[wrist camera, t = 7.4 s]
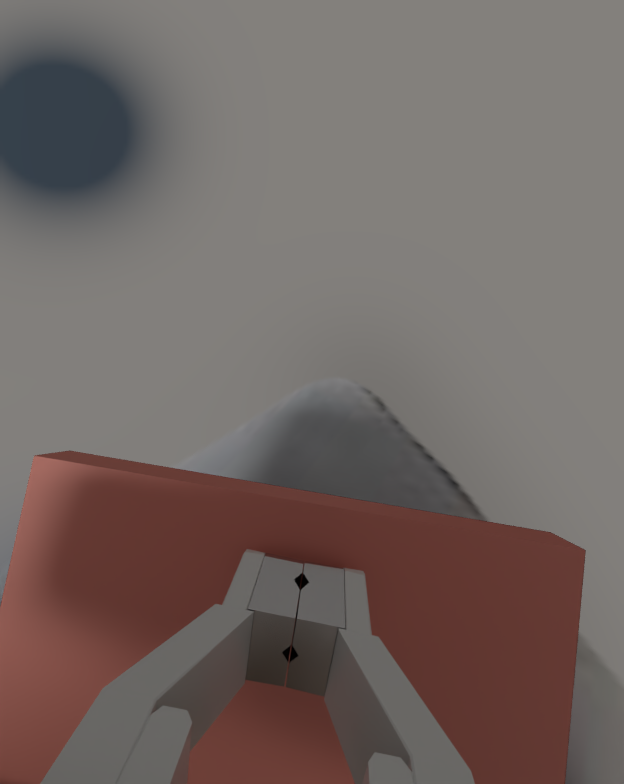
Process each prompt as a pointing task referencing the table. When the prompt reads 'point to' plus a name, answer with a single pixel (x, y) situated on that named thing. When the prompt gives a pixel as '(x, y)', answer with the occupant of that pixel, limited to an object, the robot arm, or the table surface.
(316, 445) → the table surface
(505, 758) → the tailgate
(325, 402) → the table surface
